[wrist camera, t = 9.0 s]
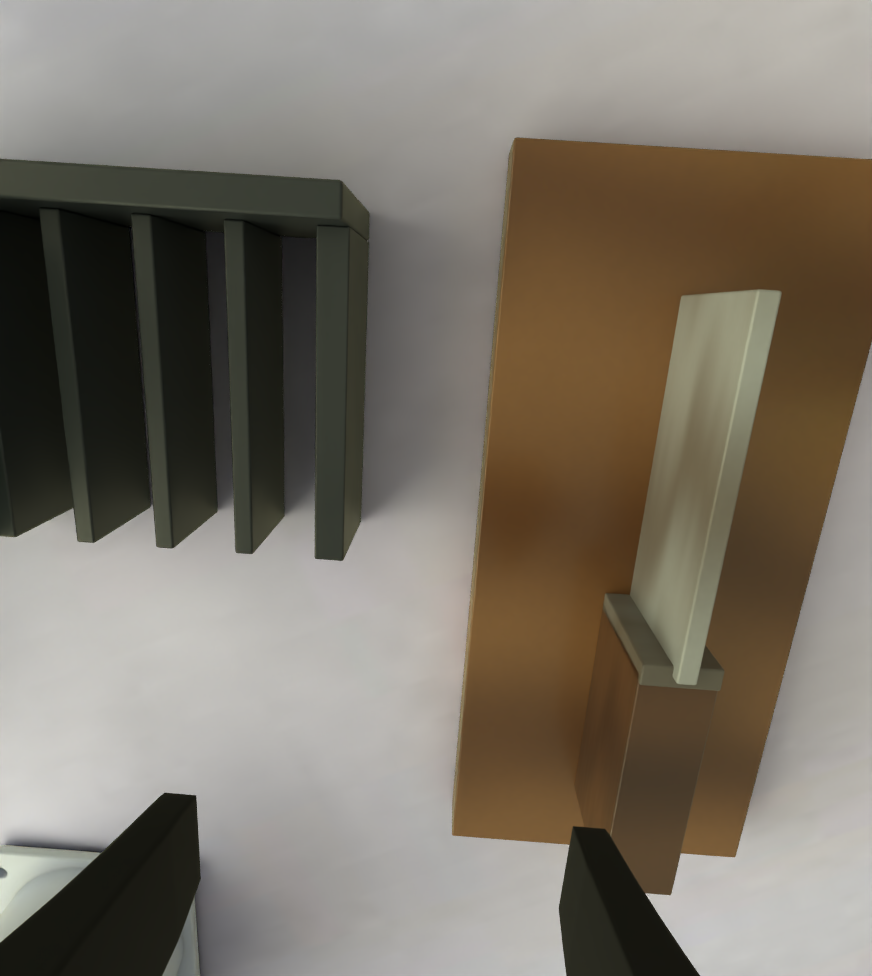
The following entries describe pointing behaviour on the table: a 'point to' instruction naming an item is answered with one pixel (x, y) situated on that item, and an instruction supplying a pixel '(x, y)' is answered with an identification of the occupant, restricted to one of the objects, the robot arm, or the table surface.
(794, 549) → the cutting board
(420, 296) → the table surface
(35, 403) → the dish rack
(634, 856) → the knife
